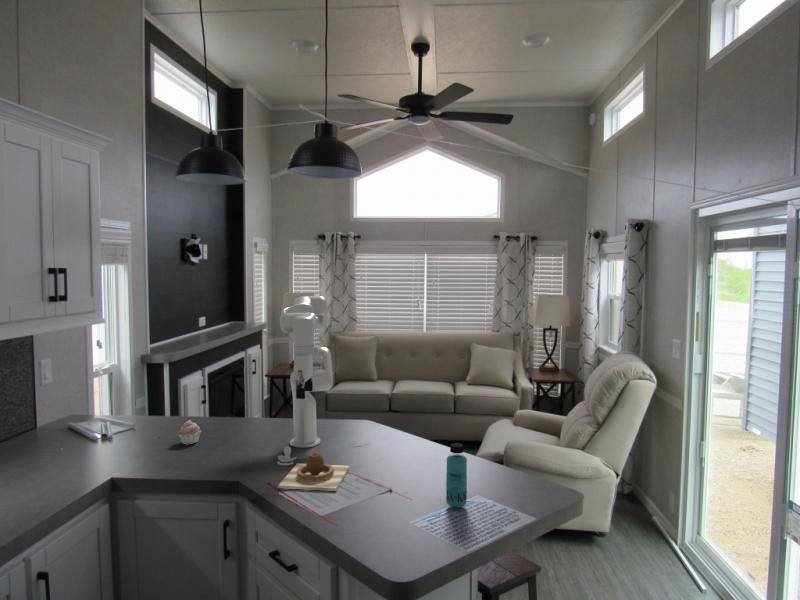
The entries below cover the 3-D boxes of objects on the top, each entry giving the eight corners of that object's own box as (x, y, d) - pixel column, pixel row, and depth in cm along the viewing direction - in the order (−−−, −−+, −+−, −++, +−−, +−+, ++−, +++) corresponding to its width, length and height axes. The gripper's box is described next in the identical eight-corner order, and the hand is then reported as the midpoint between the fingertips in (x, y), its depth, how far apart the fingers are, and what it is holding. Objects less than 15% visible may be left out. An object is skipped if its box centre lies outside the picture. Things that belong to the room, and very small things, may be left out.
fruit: (309, 479, 186) (309, 456, 186) (304, 473, 192) (303, 451, 191) (326, 476, 189) (326, 453, 188) (321, 470, 195) (320, 448, 194)
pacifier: (291, 467, 201) (298, 461, 207) (291, 451, 201) (298, 445, 207) (274, 465, 203) (281, 459, 209) (273, 449, 203) (280, 444, 208)
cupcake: (206, 441, 231) (205, 418, 230) (187, 448, 223) (186, 424, 222) (192, 438, 236) (191, 415, 235) (173, 444, 228) (172, 420, 227)
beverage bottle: (444, 503, 170) (444, 441, 168) (465, 502, 170) (465, 440, 169) (447, 512, 163) (447, 448, 162) (469, 511, 164) (469, 447, 162)
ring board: (297, 466, 201) (296, 458, 201) (349, 468, 199) (349, 460, 198) (278, 488, 182) (278, 479, 181) (336, 491, 179) (336, 482, 179)
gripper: (300, 344, 207) (301, 387, 209) (286, 354, 190) (287, 401, 192) (319, 345, 206) (320, 388, 208) (306, 354, 189) (307, 402, 191)
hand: (304, 394), depth 200 cm, fingers open, 9 cm apart
